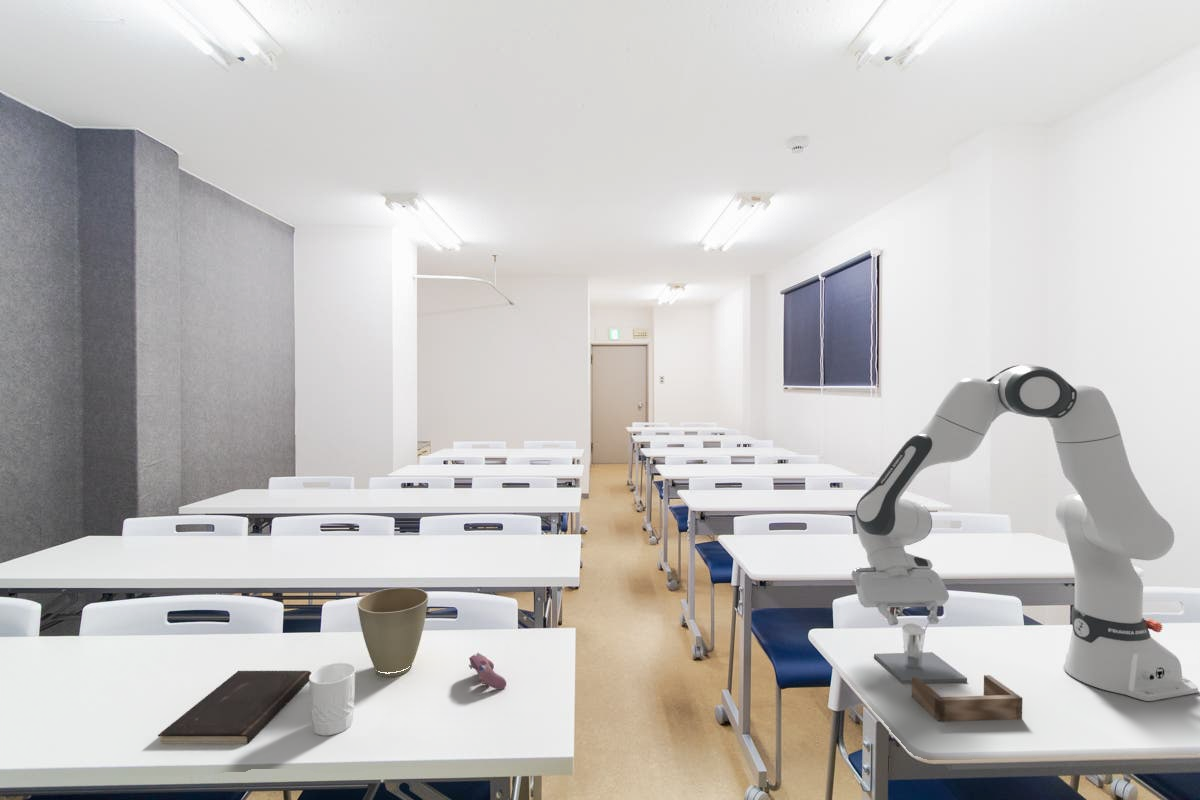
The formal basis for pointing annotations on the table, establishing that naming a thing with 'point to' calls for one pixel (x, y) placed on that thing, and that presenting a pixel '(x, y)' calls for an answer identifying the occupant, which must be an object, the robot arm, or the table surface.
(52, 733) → the table surface
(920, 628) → the milkshake
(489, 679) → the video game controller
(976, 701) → the walnut cubby
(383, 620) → the plant pot
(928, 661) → the grey pad
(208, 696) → the hardcover book
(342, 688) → the white cup
